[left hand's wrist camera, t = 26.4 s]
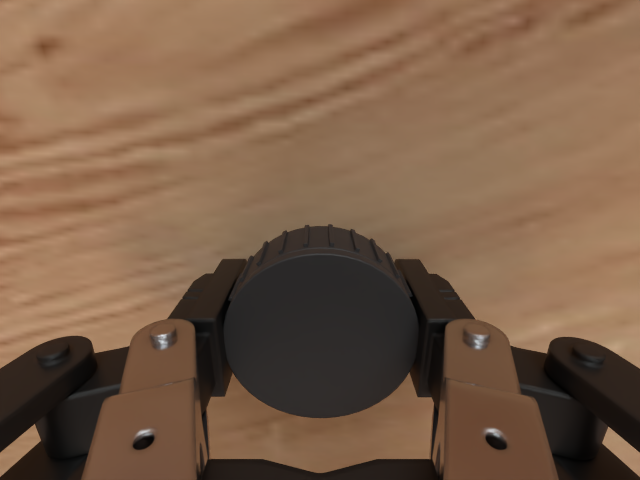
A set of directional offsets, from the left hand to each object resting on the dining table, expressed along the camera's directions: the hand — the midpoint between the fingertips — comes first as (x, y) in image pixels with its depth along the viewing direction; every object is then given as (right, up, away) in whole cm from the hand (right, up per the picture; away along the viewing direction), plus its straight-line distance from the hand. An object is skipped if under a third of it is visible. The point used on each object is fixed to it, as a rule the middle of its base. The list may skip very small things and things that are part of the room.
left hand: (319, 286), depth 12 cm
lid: (0, -1, -3) cm, 3 cm away
